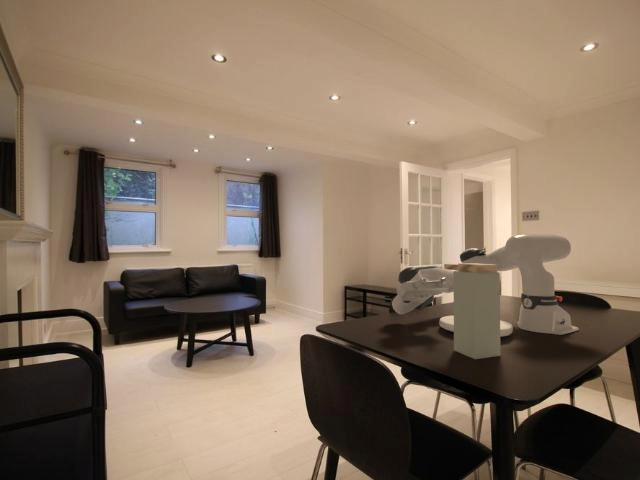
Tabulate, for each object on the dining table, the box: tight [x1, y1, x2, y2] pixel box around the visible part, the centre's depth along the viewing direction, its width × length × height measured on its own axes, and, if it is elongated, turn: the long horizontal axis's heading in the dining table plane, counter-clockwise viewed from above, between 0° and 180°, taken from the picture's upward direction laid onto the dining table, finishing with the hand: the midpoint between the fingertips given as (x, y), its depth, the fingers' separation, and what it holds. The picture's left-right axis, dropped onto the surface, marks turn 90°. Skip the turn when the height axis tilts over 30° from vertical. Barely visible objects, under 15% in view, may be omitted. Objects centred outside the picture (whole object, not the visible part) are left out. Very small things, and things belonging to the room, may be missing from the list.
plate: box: [438, 315, 514, 338], centre depth 131 cm, size 28×6×27 cm
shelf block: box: [453, 271, 502, 360], centre depth 106 cm, size 10×9×26 cm
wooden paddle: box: [443, 262, 498, 273], centre depth 110 cm, size 18×7×2 cm, turn 19°
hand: (434, 279), depth 125 cm, fingers open, 8 cm apart
